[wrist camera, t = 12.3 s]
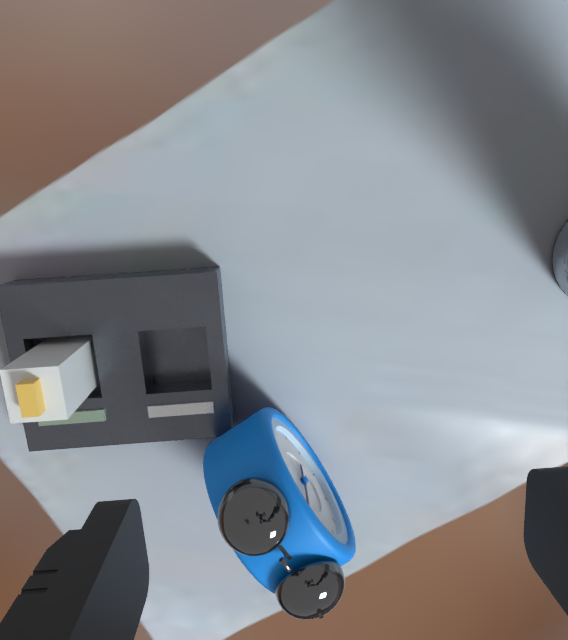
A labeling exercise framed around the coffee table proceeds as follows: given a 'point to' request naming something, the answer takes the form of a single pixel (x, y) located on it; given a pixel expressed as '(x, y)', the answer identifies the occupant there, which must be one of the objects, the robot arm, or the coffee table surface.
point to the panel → (131, 353)
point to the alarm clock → (280, 512)
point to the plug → (50, 379)
